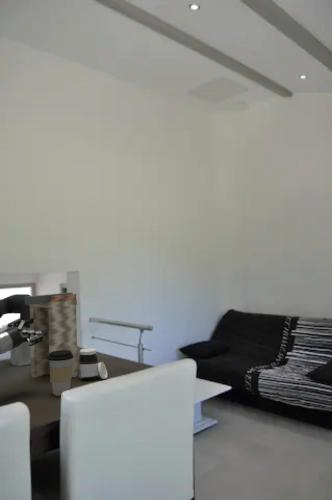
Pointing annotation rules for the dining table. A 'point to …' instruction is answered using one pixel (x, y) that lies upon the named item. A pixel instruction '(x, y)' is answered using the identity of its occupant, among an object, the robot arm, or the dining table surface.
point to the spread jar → (90, 365)
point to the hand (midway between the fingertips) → (40, 325)
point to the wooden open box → (54, 332)
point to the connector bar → (41, 298)
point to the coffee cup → (60, 370)
